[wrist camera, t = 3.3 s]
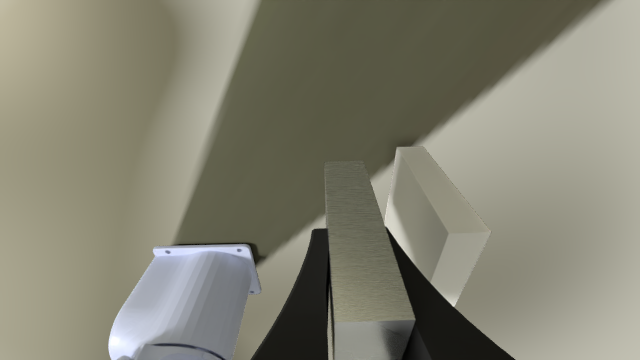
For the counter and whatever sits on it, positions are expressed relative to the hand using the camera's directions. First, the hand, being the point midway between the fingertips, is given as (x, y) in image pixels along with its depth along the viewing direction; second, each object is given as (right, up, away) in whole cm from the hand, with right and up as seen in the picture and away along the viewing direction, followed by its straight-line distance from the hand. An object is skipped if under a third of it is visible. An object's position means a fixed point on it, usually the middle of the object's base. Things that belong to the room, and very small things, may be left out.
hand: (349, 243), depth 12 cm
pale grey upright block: (0, +2, +3) cm, 3 cm away
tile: (+6, +2, +10) cm, 12 cm away
